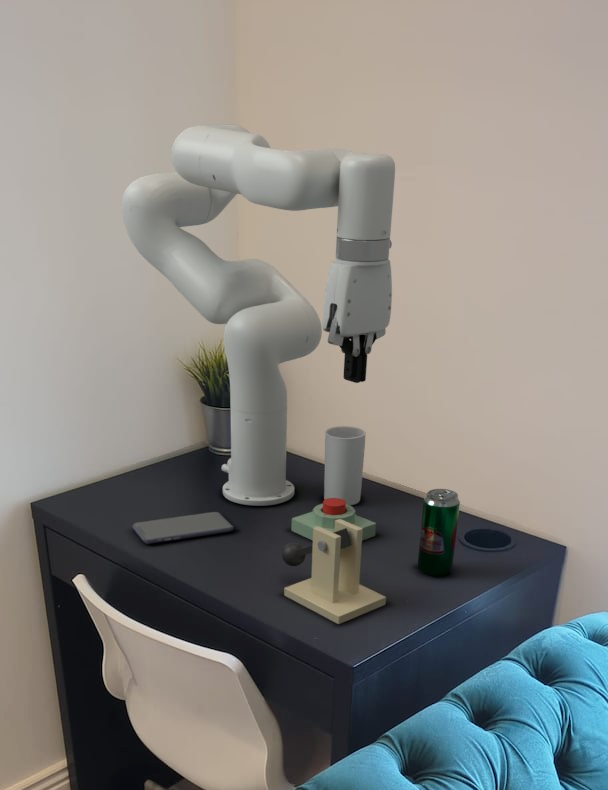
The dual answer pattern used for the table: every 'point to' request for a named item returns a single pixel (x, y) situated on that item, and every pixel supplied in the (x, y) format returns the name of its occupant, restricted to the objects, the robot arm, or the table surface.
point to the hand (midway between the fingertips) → (354, 380)
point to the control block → (330, 522)
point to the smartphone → (182, 527)
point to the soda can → (438, 532)
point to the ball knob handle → (308, 549)
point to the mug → (344, 463)
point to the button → (334, 506)
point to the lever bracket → (336, 577)
